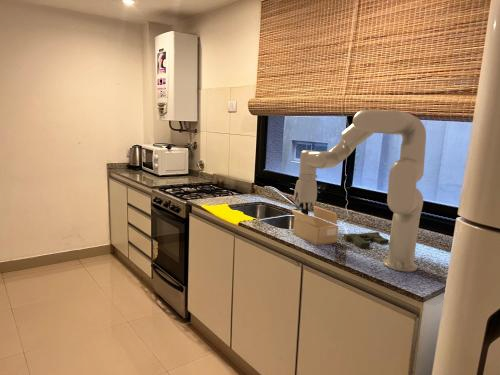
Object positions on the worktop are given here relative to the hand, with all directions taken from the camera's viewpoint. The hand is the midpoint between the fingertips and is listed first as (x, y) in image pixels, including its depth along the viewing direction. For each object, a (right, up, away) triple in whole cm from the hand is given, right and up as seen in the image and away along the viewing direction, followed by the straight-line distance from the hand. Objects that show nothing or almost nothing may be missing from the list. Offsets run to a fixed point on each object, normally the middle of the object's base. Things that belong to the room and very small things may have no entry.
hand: (304, 216), depth 170 cm
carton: (+6, -11, +5) cm, 13 cm away
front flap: (0, 0, 0) cm, 0 cm away
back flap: (+10, 0, +6) cm, 12 cm away
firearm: (+31, -13, +5) cm, 34 cm away
